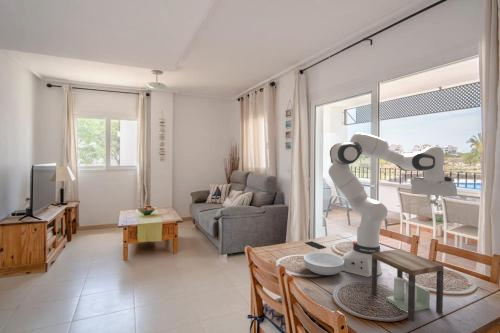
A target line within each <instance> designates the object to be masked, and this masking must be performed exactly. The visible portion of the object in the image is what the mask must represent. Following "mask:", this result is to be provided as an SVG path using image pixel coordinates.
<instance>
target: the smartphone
mask: <svg viewBox="0 0 500 333" xmlns="http://www.w3.org/2000/svg"><path fill="white" fill-rule="evenodd" d="M304 244H306V245H308V246H310V247H312V248H315V249H318V250H323V249H326V248H327V246H325V245H322V244H319V243H318V242H315V241H307V242H304Z"/></svg>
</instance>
